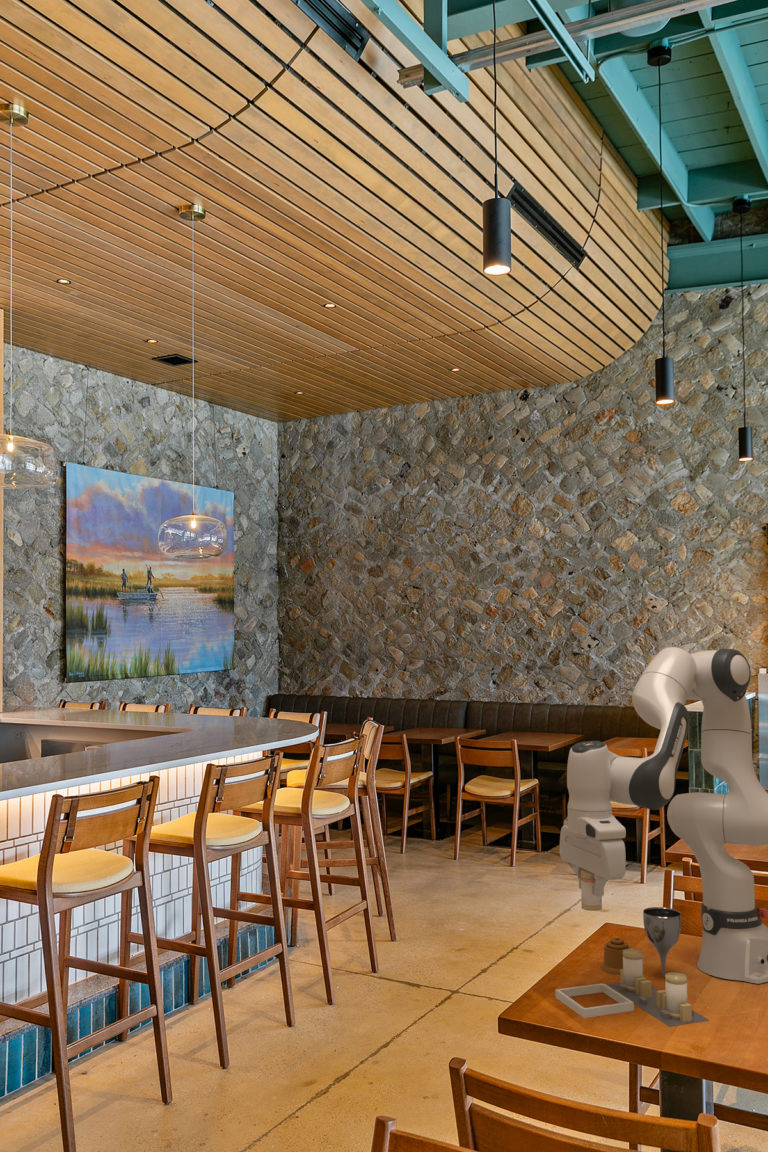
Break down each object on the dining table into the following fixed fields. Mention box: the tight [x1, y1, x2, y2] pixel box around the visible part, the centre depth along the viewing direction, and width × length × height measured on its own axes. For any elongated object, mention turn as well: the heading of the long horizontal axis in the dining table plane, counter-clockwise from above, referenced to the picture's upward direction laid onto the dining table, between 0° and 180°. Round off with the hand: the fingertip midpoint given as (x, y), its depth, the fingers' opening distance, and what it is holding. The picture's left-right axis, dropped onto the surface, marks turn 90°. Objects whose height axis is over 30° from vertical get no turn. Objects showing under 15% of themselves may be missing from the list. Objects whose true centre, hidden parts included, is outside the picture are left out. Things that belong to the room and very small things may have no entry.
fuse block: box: [605, 969, 711, 1028], centre depth 188 cm, size 9×23×4 cm, turn 18°
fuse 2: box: [664, 971, 689, 1020], centre depth 181 cm, size 4×4×8 cm
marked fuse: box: [580, 869, 603, 912], centre depth 189 cm, size 4×4×8 cm
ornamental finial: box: [600, 937, 632, 976], centre depth 207 cm, size 8×8×8 cm
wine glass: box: [642, 906, 682, 978], centre depth 203 cm, size 8×8×15 cm
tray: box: [554, 982, 635, 1019], centre depth 187 cm, size 11×11×3 cm
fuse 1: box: [623, 948, 644, 992], centre depth 195 cm, size 4×4×8 cm
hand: (591, 892), depth 189 cm, fingers closed on marked fuse, 4 cm apart
